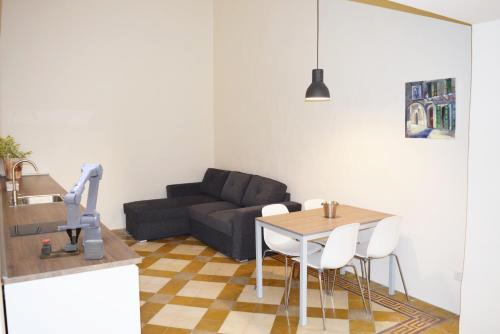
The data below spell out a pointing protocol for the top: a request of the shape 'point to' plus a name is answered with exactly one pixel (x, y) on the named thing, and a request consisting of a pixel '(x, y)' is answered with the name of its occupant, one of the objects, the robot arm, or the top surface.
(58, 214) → the top surface
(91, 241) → the medicine box
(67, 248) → the carriage
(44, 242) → the button
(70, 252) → the rail bed
